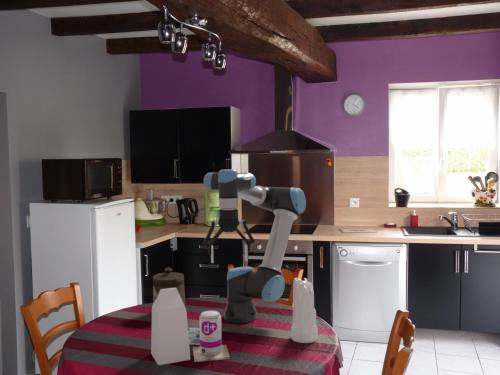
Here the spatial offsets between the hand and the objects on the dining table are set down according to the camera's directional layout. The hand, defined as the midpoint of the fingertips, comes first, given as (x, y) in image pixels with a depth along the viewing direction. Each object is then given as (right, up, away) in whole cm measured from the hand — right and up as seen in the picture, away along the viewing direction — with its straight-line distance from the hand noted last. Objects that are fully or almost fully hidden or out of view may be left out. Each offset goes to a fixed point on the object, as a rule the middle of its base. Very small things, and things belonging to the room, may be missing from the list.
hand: (229, 261), depth 208 cm
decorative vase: (+30, -32, +6) cm, 45 cm away
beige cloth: (-7, -34, -10) cm, 36 cm away
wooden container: (-30, -30, +39) cm, 58 cm away
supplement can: (-7, -33, -10) cm, 35 cm away
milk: (-22, -34, -11) cm, 42 cm away
